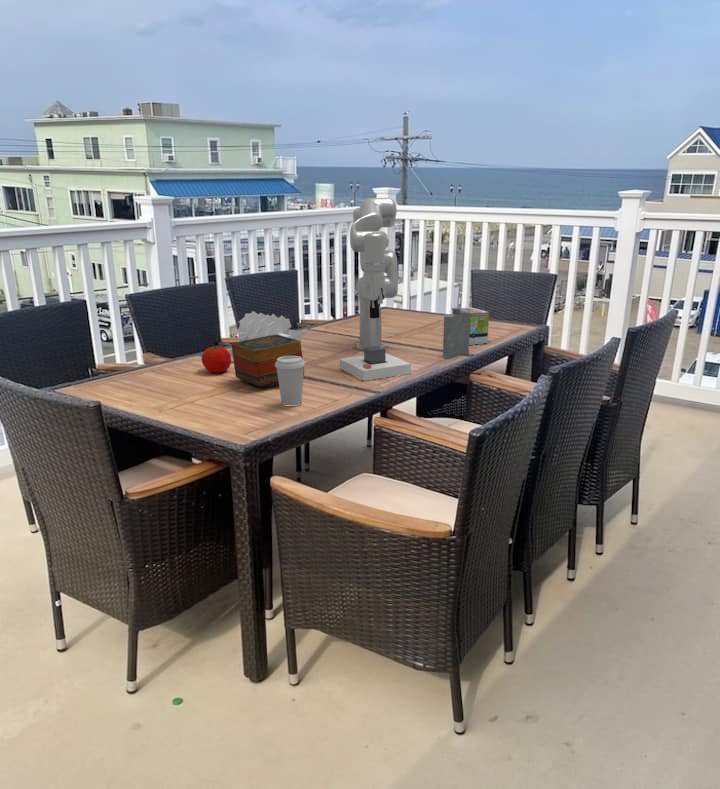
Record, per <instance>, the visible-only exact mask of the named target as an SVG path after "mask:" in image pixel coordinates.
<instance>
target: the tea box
mask: <svg viewBox="0 0 720 789" xmlns="http://www.w3.org/2000/svg"><path fill="white" fill-rule="evenodd" d="M460 308H461V310H460V312H461V311H462V312H464V311H468V312H470V330H469V346H476V345H475V344H478V345H485V344H484V343H486V344H488V340H489V339H488V338H489V324H490V323H489V322H490V321H489V319H490V312H489V311H488V310H483V309H479V308H475V307H470V306H469V307H460Z"/></svg>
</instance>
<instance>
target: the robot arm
mask: <svg viewBox="0 0 720 789" xmlns="http://www.w3.org/2000/svg"><path fill="white" fill-rule="evenodd" d="M397 213H398V211H397V204H396V201H395V200H394V199H393V198H391V197H369V198H366V199H364V200H363V201H362V202H361V203H360V207H357V208H355V209H354V210H353V212H352V219H353V220H352V221H353V223H352V225H351V227H350V228H349V244H350V248H351V250H352V251H353V252H354V253H355V252H356V253H359V264H360V270H361V271H362V272H363V276H362V277H360V278H358V280H357V284H356V287H357V288H356V289H357V294H358V296H357V297H358V304H359V337H358V341H359V343H358V344H356V349H357V350H359V351H363V352H364V348H366V347H374V346H379V347H381V348H384V349H386V345H385V344H384V343H382V307H381V305H382V304H383V303H384V300H385V299H393V298H395V297H397V295H398V290H399V282H398V280H399V279H398V277H399V276H398V273H399V272H398V270H399V269H398V257H397V254H396V252H395V251H394V250H392V249H391V250H390V249H387V248H389V244H390V238H389V235H388V234H387V233H386V232H385V231H383V230H381V229H382V228H391V227H393V226H394V225H395V220H396V217H397ZM385 274H386V275H385Z"/></svg>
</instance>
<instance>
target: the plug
mask: <svg viewBox="0 0 720 789" xmlns="http://www.w3.org/2000/svg"><path fill="white" fill-rule="evenodd" d="M385 353H386V348H381V347H379V346H374V347H366V348H364V351H363V354H364V355H363V356H364V362H366V363H368V364H370V365H373V364H380V363H385Z"/></svg>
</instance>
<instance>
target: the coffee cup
mask: <svg viewBox="0 0 720 789" xmlns="http://www.w3.org/2000/svg"><path fill="white" fill-rule="evenodd" d="M302 357H303V356H302ZM302 357H299V356H283V357H279V358H278V359H277V362H276V363H275V367H276V368H277V374H278V381H279V383H278V387H279V394H280V400H281V405H282V404H284V405H298V404H301V403H302V404H303V391H304V390H303V387H304V376H303V369H304V370H305V366H306V363H305V361H304V358H303V359H302ZM302 404H301V405H302Z"/></svg>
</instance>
